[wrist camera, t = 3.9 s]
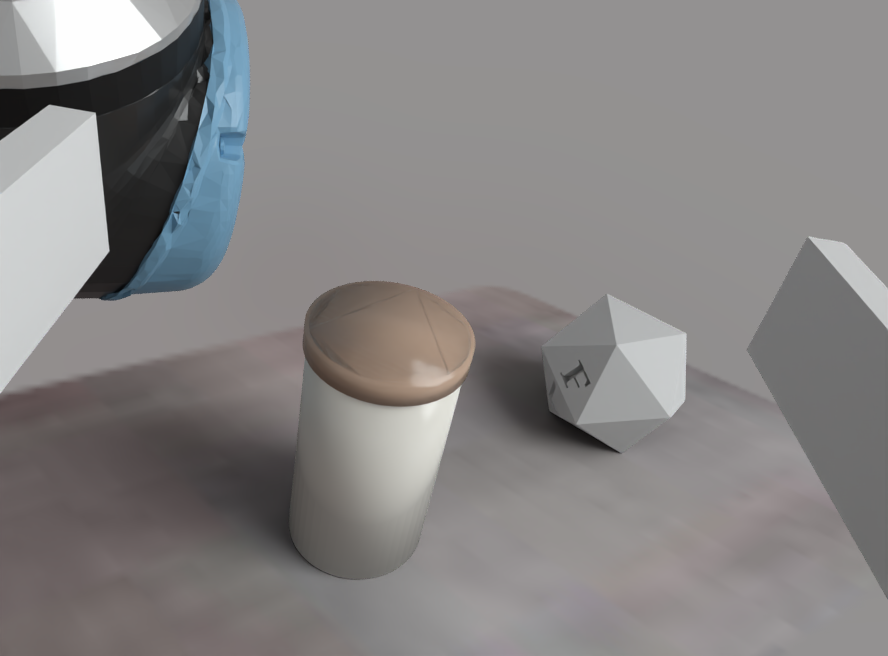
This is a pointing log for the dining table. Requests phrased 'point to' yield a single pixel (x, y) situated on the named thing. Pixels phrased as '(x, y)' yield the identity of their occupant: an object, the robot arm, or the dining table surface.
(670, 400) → the die
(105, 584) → the dining table surface
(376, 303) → the jar
